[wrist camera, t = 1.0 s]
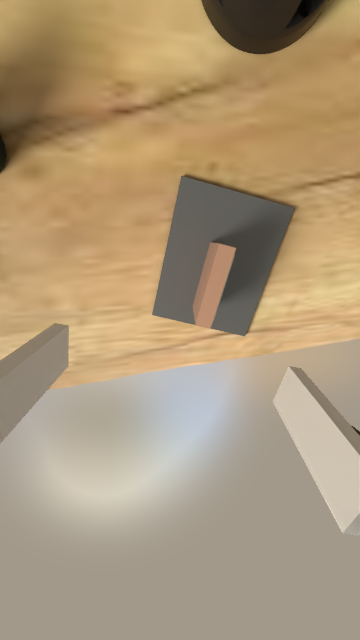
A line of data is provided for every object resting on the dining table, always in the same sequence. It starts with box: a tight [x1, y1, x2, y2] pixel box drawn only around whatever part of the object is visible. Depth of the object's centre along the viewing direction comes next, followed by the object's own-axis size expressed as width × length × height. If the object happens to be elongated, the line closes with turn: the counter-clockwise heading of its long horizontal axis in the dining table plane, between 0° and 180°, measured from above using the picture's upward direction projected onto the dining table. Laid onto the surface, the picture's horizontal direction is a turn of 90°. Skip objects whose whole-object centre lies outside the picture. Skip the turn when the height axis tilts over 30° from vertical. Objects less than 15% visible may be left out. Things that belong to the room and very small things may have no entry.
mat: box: [152, 176, 294, 336], centre depth 33 cm, size 20×16×1 cm
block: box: [193, 242, 236, 328], centre depth 29 cm, size 10×2×8 cm, turn 166°
